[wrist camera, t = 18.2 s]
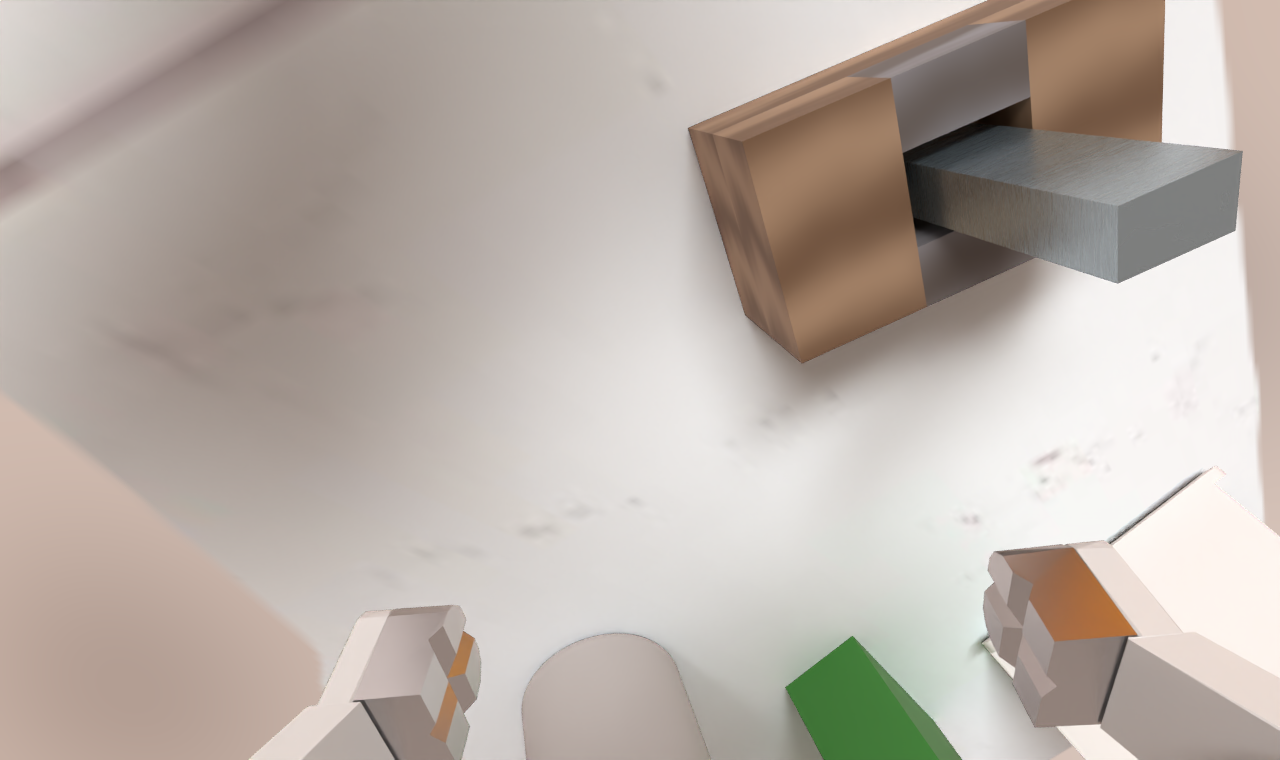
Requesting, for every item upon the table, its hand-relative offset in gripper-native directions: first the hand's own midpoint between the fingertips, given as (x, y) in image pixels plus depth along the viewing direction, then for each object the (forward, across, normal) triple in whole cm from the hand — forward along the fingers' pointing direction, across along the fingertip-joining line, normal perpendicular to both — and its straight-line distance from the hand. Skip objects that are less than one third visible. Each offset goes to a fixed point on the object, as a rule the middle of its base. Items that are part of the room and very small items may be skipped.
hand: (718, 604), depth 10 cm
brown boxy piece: (+35, +12, -3) cm, 37 cm away
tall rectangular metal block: (+31, +14, -3) cm, 34 cm away
